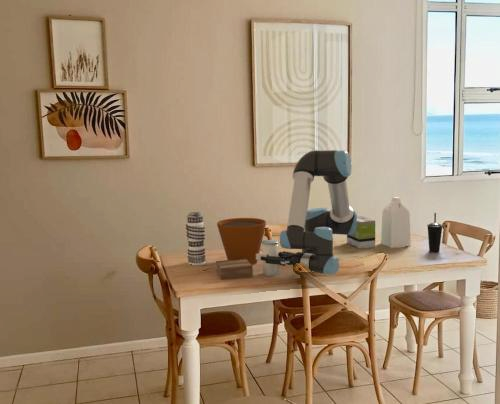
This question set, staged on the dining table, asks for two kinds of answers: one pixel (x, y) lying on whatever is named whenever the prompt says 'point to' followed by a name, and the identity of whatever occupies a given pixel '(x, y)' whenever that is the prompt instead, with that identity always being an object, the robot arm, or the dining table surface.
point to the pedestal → (234, 269)
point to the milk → (395, 225)
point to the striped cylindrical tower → (195, 238)
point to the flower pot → (242, 237)
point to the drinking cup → (434, 236)
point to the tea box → (363, 233)
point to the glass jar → (272, 250)
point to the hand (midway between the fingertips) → (261, 254)
